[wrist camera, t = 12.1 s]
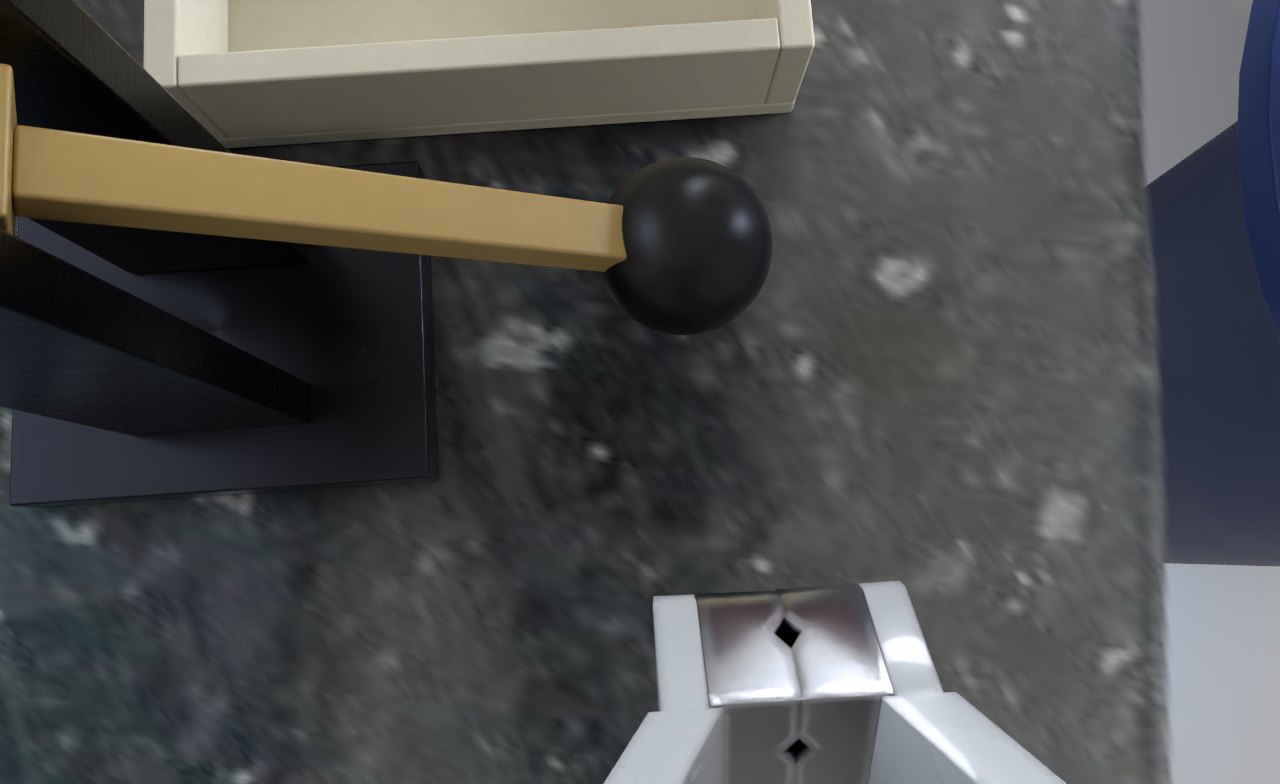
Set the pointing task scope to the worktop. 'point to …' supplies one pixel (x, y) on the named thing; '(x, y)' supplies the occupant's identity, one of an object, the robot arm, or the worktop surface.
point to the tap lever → (413, 214)
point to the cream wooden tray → (469, 64)
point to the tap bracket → (193, 322)
